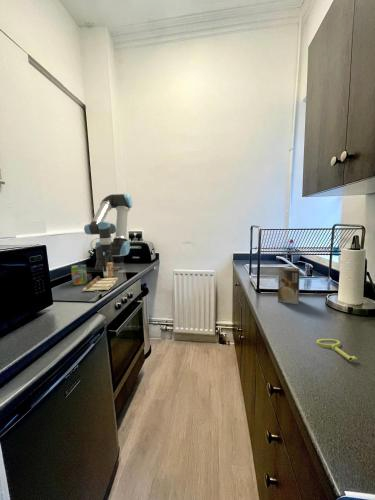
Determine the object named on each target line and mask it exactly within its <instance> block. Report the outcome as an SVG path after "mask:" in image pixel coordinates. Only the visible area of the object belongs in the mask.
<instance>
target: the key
mask: <svg viewBox="0 0 375 500" xmlns="http://www.w3.org/2000/svg"><path fill="white" fill-rule="evenodd" d="M315 341H316V342H315V343H316V345H317V344H318V345H317V346H319V347H321V348H324V347H325V349H331V350H332V351H336V353H338V354H339V355H340V356H342V357H343V358H345V359H346V360H347V361H349V362H352V361H354V360H358V357H356V355H352V356H351V355H349V354H347V353H346V352H345V351H343V350H342V349H341V348H340V347H341V341H340V340H338V339H334V338H319V339H317V340H315ZM322 341H323V342H331V341H333V342H332V343H323V342H322Z"/></svg>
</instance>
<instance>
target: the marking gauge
mask: <svg viewBox="0 0 375 500" xmlns="http://www.w3.org/2000/svg"><path fill="white" fill-rule="evenodd" d="M107 269H108V276H104V275H103V278H114V271H116V272H119V270H120V267H119V266H115V267H113V264H112V262H110V263H107Z"/></svg>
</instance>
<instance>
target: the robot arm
mask: <svg viewBox="0 0 375 500" xmlns="http://www.w3.org/2000/svg"><path fill="white" fill-rule="evenodd" d="M131 208H133V200H132V197H131V195H130V194H129V193H120V194H119V193H117V194H115V193H114V194H109V195H107V196H106V197H104V198H103V199H102V200H101V201H100V203H99V208H98V209H97V211H96V213H95V214H94V217H93V218H92V220H91V222H90V223H89V224H85V225H84V230H83V231H84V233H85V234H86V235H93V236H94V235H98V236H99V239H98V242H96V243H95V254H96V262H95V267H94V268H95V271H102V272H103V277H104V276H108V269H107V263H110V262H112V264H113V267H116V266H115V262H114V259H113V257H123V256H127V255H129V253H130V250H131V243H130V241H129V240H128V238H127V228H128V215H129V214H128V212H130V209H131ZM112 209H115V210H116V222H115V223H110V221H105V219H106V217H107V215H108V213H109V212H111V210H112ZM113 234H114V235H115V236H114V238H113V239H112V235H113Z"/></svg>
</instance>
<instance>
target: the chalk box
mask: <svg viewBox="0 0 375 500" xmlns="http://www.w3.org/2000/svg"><path fill="white" fill-rule="evenodd" d="M78 262H79V263H78V264H75V265H74V264H73V265H71V267H70V272H71V281H72V286H73V287H74V286H78V285H79V286H80V285H88V284H89V279H88V271H87V264H81V260H79V261H78Z"/></svg>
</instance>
